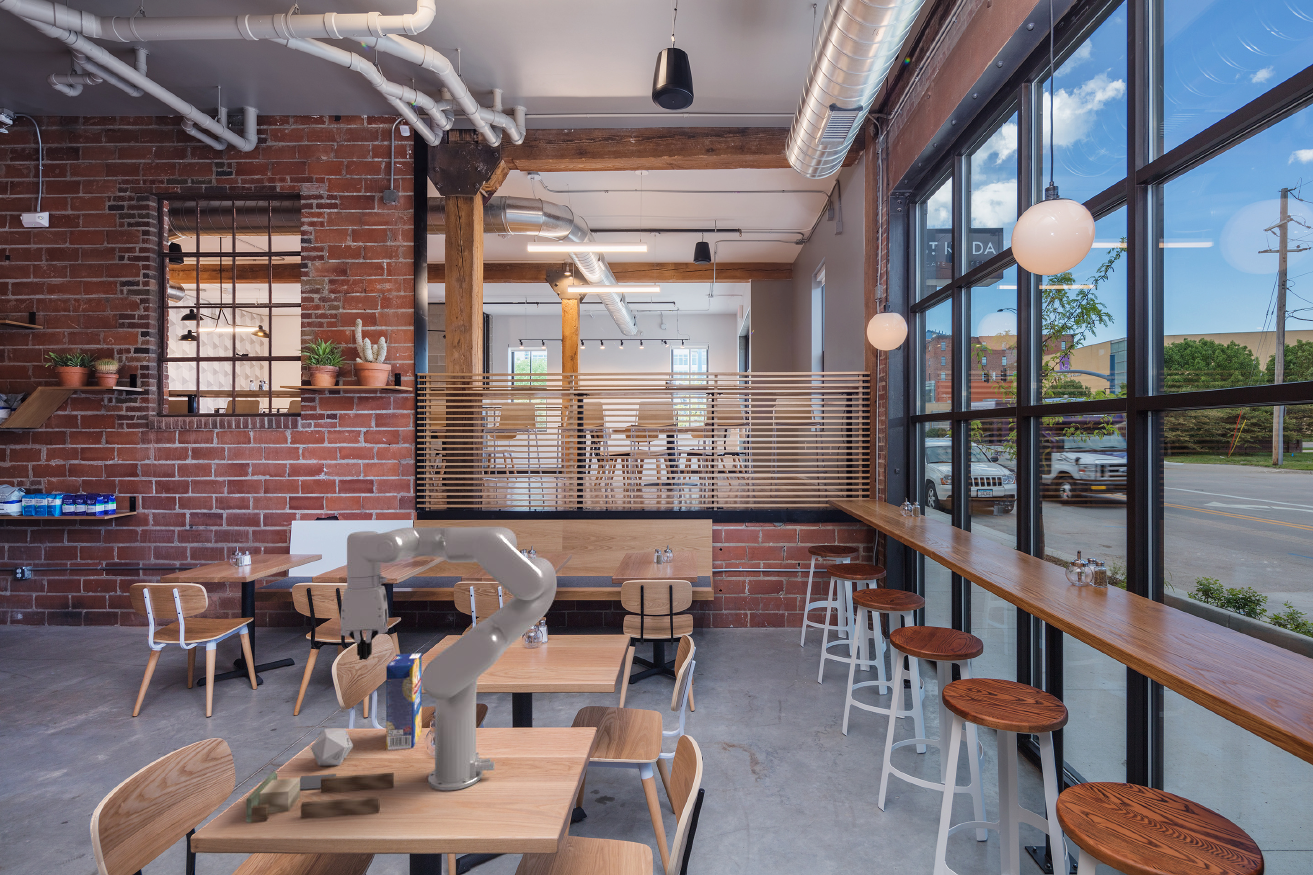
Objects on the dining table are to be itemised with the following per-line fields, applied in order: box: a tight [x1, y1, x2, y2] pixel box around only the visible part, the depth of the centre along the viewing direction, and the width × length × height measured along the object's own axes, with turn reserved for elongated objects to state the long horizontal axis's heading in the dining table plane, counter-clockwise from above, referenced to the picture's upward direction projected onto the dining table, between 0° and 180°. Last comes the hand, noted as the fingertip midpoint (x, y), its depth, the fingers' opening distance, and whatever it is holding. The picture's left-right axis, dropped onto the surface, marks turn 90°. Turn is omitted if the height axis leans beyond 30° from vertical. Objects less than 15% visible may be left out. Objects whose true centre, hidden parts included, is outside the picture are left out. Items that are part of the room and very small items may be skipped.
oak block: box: [259, 777, 301, 814], centre depth 146 cm, size 6×6×4 cm
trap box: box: [245, 771, 395, 823], centre depth 147 cm, size 27×12×5 cm, turn 97°
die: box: [310, 728, 354, 767], centre depth 167 cm, size 8×9×10 cm
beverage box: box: [385, 652, 423, 751], centre depth 180 cm, size 7×11×22 cm, turn 8°
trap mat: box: [299, 773, 337, 791], centre depth 156 cm, size 8×7×1 cm
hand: (364, 658), depth 159 cm, fingers closed
